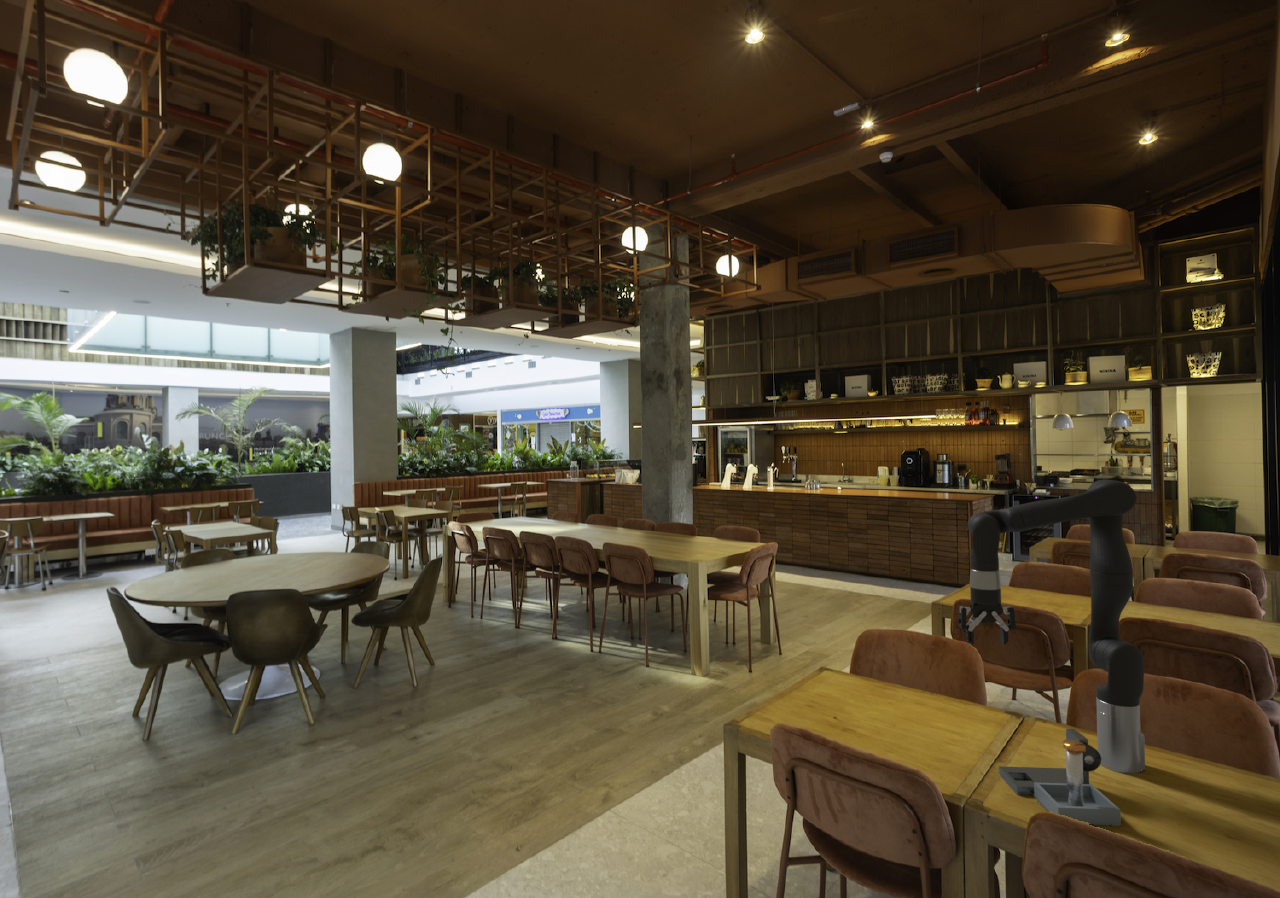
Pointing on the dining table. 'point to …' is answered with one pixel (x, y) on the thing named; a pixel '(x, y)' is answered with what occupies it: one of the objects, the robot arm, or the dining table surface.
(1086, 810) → the tray
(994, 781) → the dining table surface
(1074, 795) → the lock pin
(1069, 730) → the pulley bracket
